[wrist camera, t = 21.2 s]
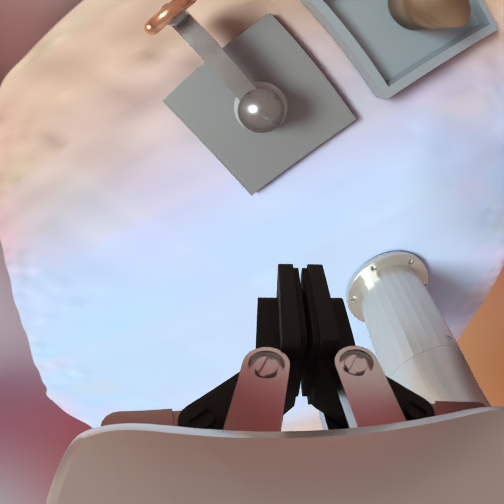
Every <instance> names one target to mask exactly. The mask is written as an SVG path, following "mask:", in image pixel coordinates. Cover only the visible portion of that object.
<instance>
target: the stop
mask: <svg viewBox="0 0 504 504" xmlns="http://www.w3.org/2000/svg"><path fill="white" fill-rule="evenodd" d="M388 9H389V12H390V14H391V16H392V18H393V19H394V20H395V21H396V22H397V23H398V24H399V25H400V26H402V27H403V28H405V29H408V30H424V29H435V28H450V27H461V26H463V25H465V24H466V23H467V22H468V20H469V18H470V14H471V7H470V3H469V0H388Z"/></svg>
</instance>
